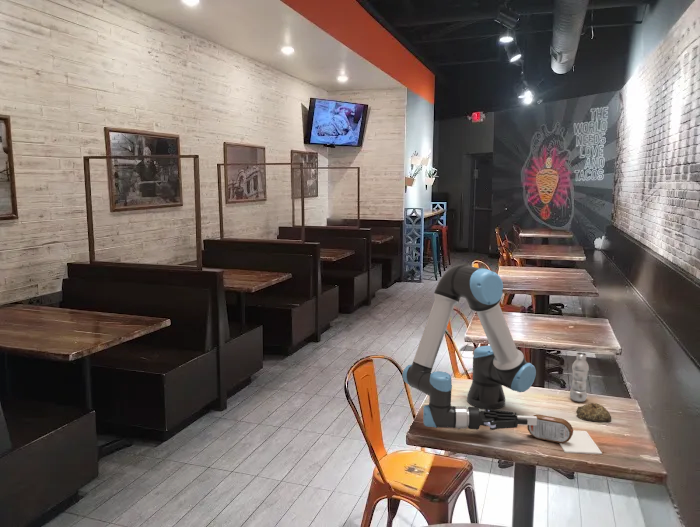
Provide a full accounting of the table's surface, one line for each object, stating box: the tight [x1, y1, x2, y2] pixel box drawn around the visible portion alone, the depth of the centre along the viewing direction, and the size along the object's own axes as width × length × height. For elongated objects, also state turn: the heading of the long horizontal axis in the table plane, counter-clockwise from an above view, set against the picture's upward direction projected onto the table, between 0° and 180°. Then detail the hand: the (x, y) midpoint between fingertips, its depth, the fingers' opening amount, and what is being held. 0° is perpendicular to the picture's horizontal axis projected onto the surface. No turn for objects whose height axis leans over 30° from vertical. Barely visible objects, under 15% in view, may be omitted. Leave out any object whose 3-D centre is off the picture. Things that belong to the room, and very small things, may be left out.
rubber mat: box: [559, 429, 603, 455], centre depth 194 cm, size 12×16×1 cm
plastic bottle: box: [569, 352, 590, 403], centre depth 228 cm, size 6×7×20 cm
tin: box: [526, 414, 574, 444], centre depth 194 cm, size 15×3×8 cm, turn 59°
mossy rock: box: [575, 402, 612, 423], centre depth 215 cm, size 13×12×5 cm
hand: (536, 420), depth 194 cm, fingers closed
